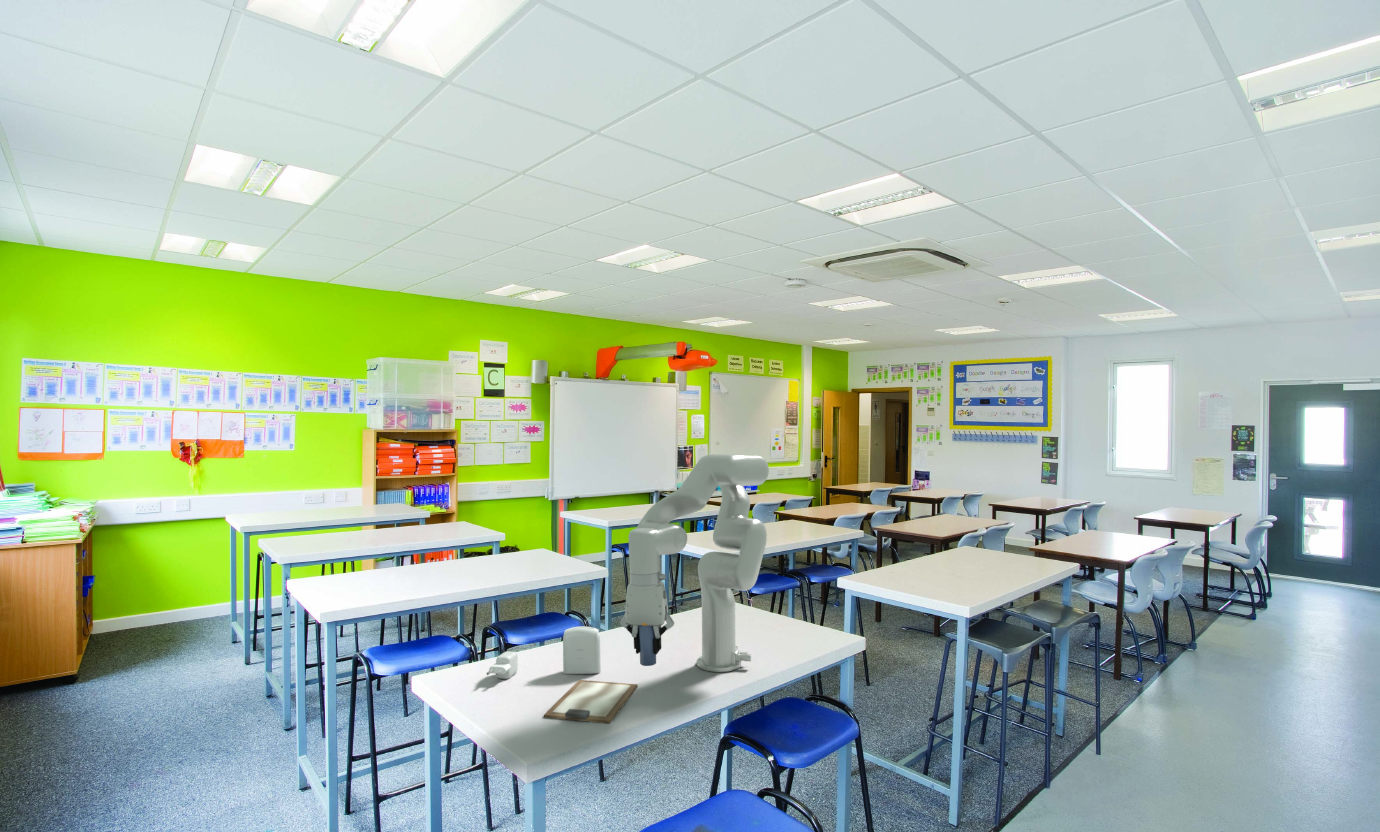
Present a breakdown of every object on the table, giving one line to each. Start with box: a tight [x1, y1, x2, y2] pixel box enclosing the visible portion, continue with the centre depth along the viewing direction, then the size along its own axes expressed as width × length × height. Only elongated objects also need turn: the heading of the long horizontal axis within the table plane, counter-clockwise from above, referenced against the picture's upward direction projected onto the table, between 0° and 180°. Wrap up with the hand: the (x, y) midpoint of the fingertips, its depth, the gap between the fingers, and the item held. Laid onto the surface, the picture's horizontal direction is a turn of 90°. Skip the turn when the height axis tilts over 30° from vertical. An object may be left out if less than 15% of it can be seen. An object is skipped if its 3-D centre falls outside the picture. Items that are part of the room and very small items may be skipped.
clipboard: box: [543, 679, 638, 724], centre depth 160 cm, size 16×22×2 cm
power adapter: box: [486, 650, 519, 680], centre depth 175 cm, size 11×5×6 cm, turn 168°
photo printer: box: [562, 625, 602, 675], centre depth 180 cm, size 10×4×12 cm, turn 89°
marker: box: [639, 623, 657, 667], centre depth 162 cm, size 4×4×12 cm
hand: (647, 651), depth 162 cm, fingers closed on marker, 4 cm apart
